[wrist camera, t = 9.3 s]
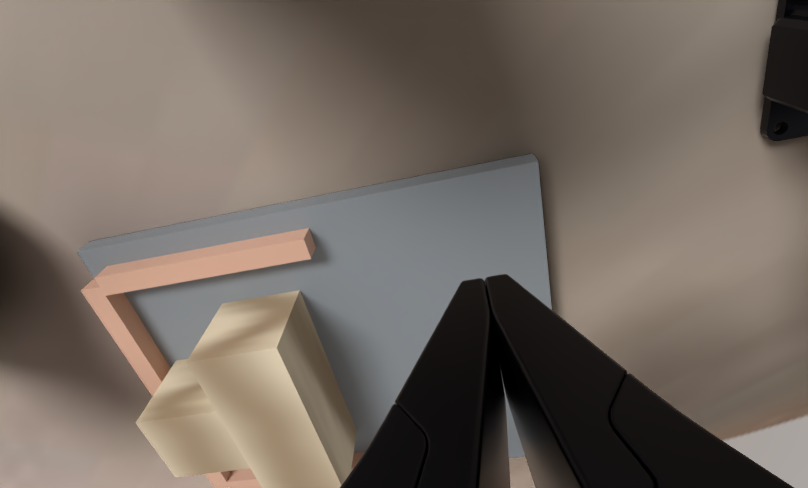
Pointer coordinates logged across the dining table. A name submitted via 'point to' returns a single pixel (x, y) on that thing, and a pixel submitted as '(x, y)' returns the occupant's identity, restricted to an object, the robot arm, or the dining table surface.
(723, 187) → the dining table surface
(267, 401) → the t block
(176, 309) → the board
